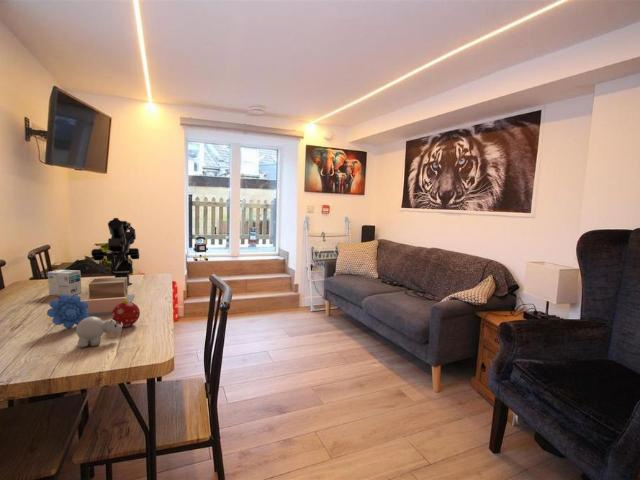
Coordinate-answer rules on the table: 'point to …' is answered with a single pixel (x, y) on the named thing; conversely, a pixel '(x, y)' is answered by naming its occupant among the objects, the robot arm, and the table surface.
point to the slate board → (130, 299)
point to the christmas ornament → (126, 313)
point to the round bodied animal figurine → (95, 330)
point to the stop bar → (103, 304)
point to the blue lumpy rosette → (68, 310)
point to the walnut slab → (108, 288)
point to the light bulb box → (64, 282)
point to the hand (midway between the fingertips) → (114, 269)
